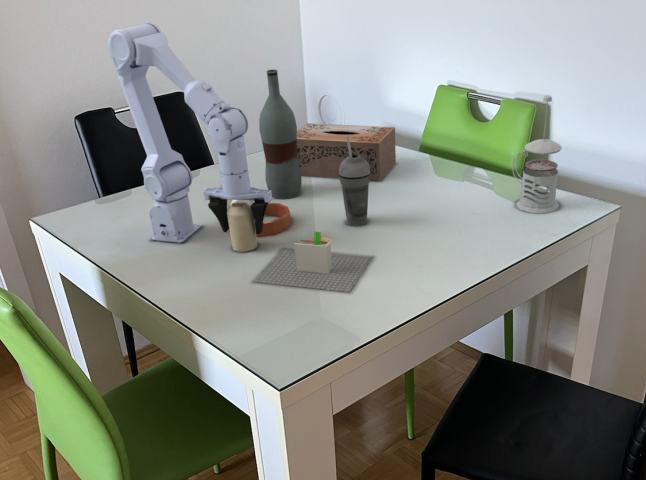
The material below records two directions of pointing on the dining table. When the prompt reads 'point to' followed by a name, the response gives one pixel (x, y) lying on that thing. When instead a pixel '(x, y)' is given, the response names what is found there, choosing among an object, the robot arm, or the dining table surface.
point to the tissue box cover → (344, 148)
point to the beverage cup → (355, 187)
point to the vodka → (279, 143)
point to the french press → (539, 197)
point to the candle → (242, 227)
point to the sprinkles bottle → (229, 202)
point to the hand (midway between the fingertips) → (243, 231)
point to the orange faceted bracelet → (279, 223)
